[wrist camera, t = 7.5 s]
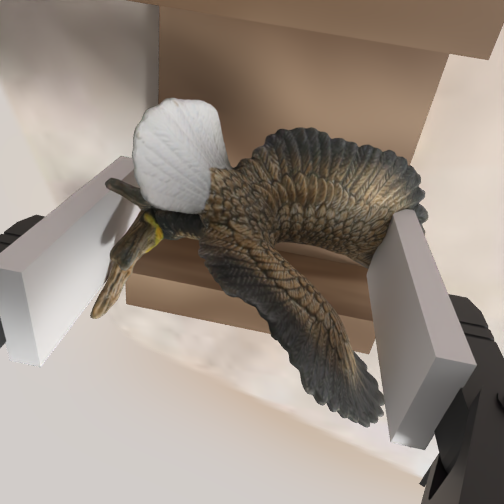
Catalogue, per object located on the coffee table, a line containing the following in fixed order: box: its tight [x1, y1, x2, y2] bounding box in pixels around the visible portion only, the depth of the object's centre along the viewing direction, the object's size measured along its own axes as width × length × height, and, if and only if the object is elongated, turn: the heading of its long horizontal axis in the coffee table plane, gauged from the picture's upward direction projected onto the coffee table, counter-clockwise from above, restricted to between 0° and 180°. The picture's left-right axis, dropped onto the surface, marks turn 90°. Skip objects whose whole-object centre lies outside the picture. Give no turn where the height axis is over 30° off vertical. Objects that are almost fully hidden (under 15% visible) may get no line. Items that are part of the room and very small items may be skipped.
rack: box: [125, 0, 504, 354], centre depth 18 cm, size 16×12×5 cm
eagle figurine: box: [90, 98, 428, 427], centre depth 12 cm, size 8×7×9 cm
